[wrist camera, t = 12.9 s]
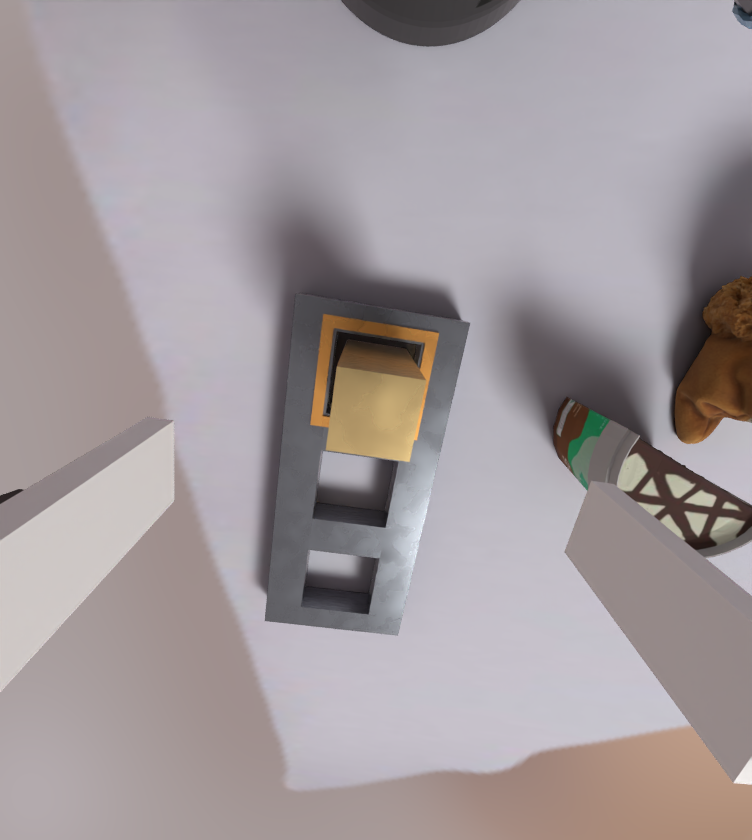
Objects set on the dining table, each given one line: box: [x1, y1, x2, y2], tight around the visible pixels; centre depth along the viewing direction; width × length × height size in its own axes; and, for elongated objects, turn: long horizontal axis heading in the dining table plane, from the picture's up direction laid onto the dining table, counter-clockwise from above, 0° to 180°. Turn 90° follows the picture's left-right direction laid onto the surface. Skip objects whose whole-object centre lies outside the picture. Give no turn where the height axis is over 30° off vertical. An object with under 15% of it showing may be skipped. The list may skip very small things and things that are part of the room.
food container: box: [553, 397, 752, 558], centre depth 28 cm, size 12×6×10 cm, turn 60°
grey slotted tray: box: [265, 293, 470, 636], centre depth 32 cm, size 28×12×3 cm, turn 171°
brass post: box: [326, 339, 426, 462], centre depth 25 cm, size 4×4×11 cm
